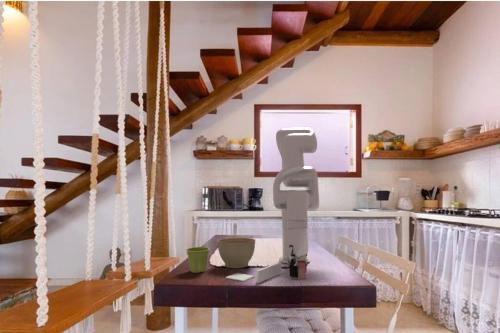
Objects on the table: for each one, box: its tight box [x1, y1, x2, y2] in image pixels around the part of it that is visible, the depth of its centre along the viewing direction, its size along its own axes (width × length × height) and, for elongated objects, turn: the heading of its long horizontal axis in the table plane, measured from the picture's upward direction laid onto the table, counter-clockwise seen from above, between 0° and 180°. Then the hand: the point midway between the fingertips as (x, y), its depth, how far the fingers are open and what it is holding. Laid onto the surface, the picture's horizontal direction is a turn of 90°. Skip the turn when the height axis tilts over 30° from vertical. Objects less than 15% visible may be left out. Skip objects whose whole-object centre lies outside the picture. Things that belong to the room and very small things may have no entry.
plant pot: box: [185, 246, 211, 274], centre depth 130 cm, size 9×9×9 cm
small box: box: [290, 255, 307, 280], centre depth 119 cm, size 5×4×8 cm
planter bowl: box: [216, 237, 256, 269], centre depth 138 cm, size 16×16×11 cm
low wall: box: [255, 261, 282, 284], centre depth 120 cm, size 16×1×4 cm, turn 146°
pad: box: [225, 272, 256, 282], centre depth 120 cm, size 7×8×1 cm
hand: (298, 274), depth 119 cm, fingers closed on small box, 6 cm apart
